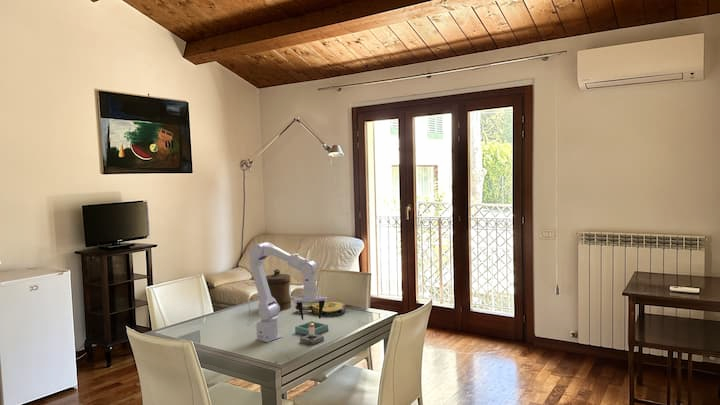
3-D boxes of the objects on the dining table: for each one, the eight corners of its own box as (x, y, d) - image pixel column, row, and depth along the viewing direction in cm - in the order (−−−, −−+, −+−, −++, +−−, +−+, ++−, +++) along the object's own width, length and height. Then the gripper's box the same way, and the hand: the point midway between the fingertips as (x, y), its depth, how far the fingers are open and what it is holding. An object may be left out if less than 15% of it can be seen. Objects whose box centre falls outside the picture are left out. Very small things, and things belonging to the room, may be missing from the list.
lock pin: (312, 342, 217) (311, 325, 217) (307, 341, 219) (307, 324, 218) (316, 341, 219) (315, 323, 219) (312, 340, 221) (311, 322, 220)
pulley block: (300, 297, 277) (351, 299, 269) (301, 306, 278) (351, 309, 270) (290, 307, 264) (343, 309, 255) (291, 317, 265) (344, 320, 256)
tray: (311, 337, 225) (311, 330, 225) (295, 332, 232) (295, 326, 232) (328, 330, 234) (328, 324, 233) (311, 327, 241) (311, 321, 240)
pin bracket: (312, 345, 213) (311, 340, 213) (300, 342, 218) (299, 337, 218) (323, 340, 219) (323, 336, 219) (311, 337, 224) (311, 333, 224)
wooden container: (296, 306, 281) (295, 268, 280) (276, 312, 270) (274, 272, 269) (279, 303, 291) (278, 266, 290) (259, 308, 280) (258, 270, 279)
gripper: (293, 291, 213) (294, 322, 214) (326, 289, 214) (327, 319, 215) (293, 287, 220) (295, 317, 221) (326, 285, 221) (327, 315, 222)
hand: (311, 318), depth 218 cm, fingers open, 7 cm apart
